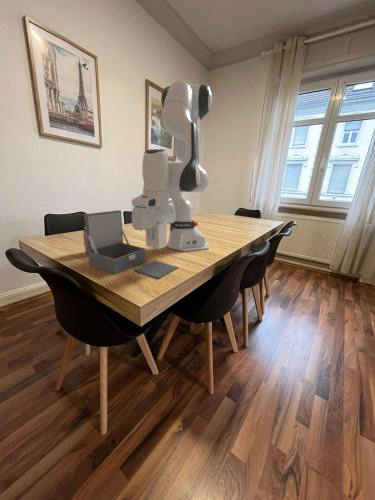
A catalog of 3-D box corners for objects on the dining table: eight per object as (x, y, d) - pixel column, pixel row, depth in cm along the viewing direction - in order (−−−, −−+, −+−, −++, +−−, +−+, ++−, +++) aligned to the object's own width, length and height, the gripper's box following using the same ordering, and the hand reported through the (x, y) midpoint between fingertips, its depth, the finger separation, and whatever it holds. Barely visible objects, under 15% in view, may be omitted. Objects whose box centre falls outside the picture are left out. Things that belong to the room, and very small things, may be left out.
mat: (154, 261, 88) (154, 260, 88) (178, 268, 82) (178, 267, 82) (134, 270, 78) (134, 269, 78) (158, 279, 73) (158, 277, 72)
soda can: (100, 255, 93) (98, 229, 89) (83, 255, 91) (80, 229, 88) (103, 250, 99) (101, 225, 96) (87, 250, 98) (84, 225, 94)
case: (147, 261, 88) (146, 214, 82) (116, 274, 75) (111, 219, 68) (122, 253, 96) (119, 210, 89) (89, 265, 82) (83, 214, 76)
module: (166, 246, 78) (166, 221, 75) (158, 249, 74) (158, 223, 71) (154, 243, 81) (153, 219, 78) (146, 246, 77) (145, 221, 74)
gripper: (166, 197, 82) (166, 231, 86) (127, 200, 65) (129, 242, 70) (179, 199, 79) (179, 234, 83) (142, 202, 62) (143, 245, 67)
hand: (156, 238), depth 76 cm, fingers closed on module, 4 cm apart
